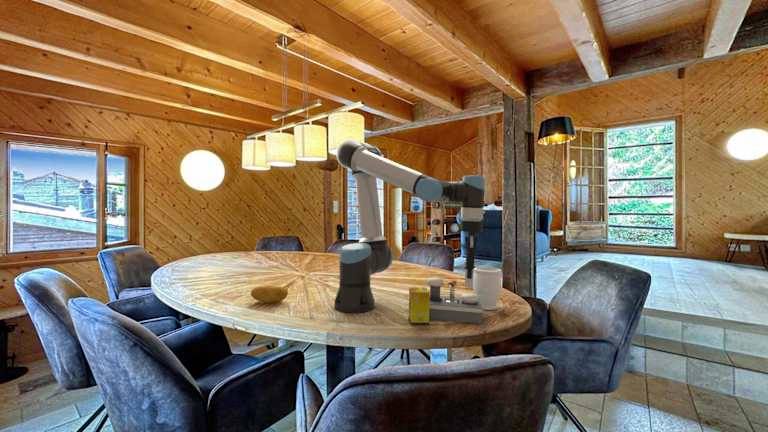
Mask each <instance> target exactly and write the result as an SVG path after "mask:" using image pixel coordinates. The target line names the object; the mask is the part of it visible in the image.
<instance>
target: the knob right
mask: <svg viewBox="0 0 768 432" xmlns="http://www.w3.org/2000/svg"><path fill="white" fill-rule="evenodd" d="M460 297H461V301H462V302H464V304H470V305H475V303H477V302H478V295H476V294H474V293H471V292H470V293H469V292H466V293H464V292H463V293H462V294H461V295H460Z"/></svg>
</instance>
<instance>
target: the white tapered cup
mask: <svg viewBox="0 0 768 432" xmlns="http://www.w3.org/2000/svg"><path fill="white" fill-rule="evenodd" d="M501 273H502V269H500V268H497V267H494V266H493V267H492V266H483V265H482V266H480V265H479V266H475V268H474V272H473V288H472V289H473V294H476V295H478V299H480V301H481V304H482V308H483V311H486V310H487V311H495V310H497V309H498V305H497V304H498V302H499V299H500V294H501V288H502V279H501Z"/></svg>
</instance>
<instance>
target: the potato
mask: <svg viewBox="0 0 768 432" xmlns="http://www.w3.org/2000/svg"><path fill="white" fill-rule="evenodd" d="M250 295H251V297H252V299H254V300H256V301H257V302H261V303H263V304H276V303H277V304H279V303H280V302H282V301H284V300H285V299H286V298H287V297H288V295H289V291H288V289H287V288H286V287H283V286H277V285H262V286H260V285H259V286H256V287H254V288H252V290H251V292H250Z"/></svg>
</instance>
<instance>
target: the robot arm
mask: <svg viewBox="0 0 768 432" xmlns="http://www.w3.org/2000/svg"><path fill="white" fill-rule="evenodd" d="M335 155H336V156H335V157H336V160H337V162H338V163H339V164H340V166H342V167H343V168H345V169H349V170H350V172H351V178H352V179H354V180H355V184H356V193H357V195H356V196H357V202H358V203H357V204H358V213H359V224H360V230H361V232H360V233H361V238H360V239H359V241H358V242H354V243H349V244H348V243H347V244H345V245H343V246H342V247H341V248H340V250H339V252H340V253H339V258H338V260H339V285H338V290H337V292H336V295H335V298H334V306H333V307H334V309H336V310H337V311H339V312H344V313H354V314H355V313H364V312H369V311H371V310H373V309H375V306H376V305H375V304H376V303H375V301H376V300H375V298H374V294H373V291H372V288H371V275H375V274H378V273H379V274H380V273H382V272H384V271H386V270H387V269H389V268H390V266H391V265H392V263H393V261H394V253H393V249H392V248H391V246H390V245H389V244H388V240H387V238H386V237H385V236H384V235H383V228H382V220H381V219H382V218H381V210H380V199H379V193H378V182H377V179H378V180H381V181H383V182H386V183H387V184H391V185H392V186H395V187H397V188H399V189H401V190H403V191H405V192H408V193H410V194H413V195H415V196H416V197H417V198H419V199H420V200H422V201H423V202H427V203H432V202H433V203H457V204H458V203H459V204H460V203H461V206H460V219H461V221H460V226H459V228H460V231H461V232H464V233H465V232H466V233H467V235H465V237H464V240H465V246H464V247H465V266H463V269H464V271H465V272H464V275H465V276H464V288H469V289H470V288H471V289H473V277H474V273H475V271H474V268H475V267H476V266H475V255H476V250H477V242H478V237H477V236H476V233H481V232H483V228H484V222H483V221H482V220H484V214H486V211H485V210H484V206H485V205H484V204H485V203H484V202H485V190H486V188H485V177H484V176H481V175H464V176H463V177H462V180H459V181H446V180H441V179H436V178H434V177H431V176H428V175H427V174H424V173H422V172H419V171H417V170H414V169H412V168H410V167H407V166H405V165H402V164H399V163H398V162H394V161H393V160H390V159H388V158H385V157H383V155H382V152H381V150H380V149H379V148H378V147H377V146H375V145H373V144H371V143H367V142H363V141H360V140H358V139H354V138H350V139H349V138H347V139H345V140H343V141H341V143H339V145H338V146H337V149H336V153H335Z"/></svg>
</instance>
